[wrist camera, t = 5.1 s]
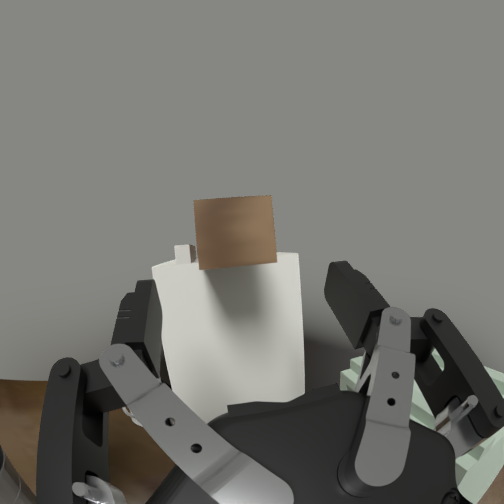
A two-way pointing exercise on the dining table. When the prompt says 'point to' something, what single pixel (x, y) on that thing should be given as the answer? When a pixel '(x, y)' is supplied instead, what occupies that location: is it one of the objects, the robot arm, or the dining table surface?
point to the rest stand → (467, 466)
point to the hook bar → (235, 232)
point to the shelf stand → (231, 331)
